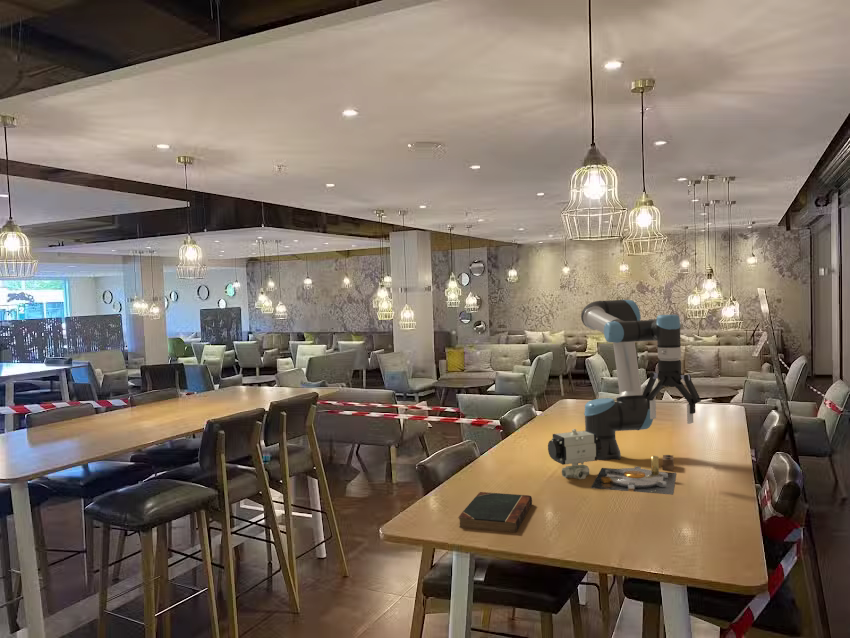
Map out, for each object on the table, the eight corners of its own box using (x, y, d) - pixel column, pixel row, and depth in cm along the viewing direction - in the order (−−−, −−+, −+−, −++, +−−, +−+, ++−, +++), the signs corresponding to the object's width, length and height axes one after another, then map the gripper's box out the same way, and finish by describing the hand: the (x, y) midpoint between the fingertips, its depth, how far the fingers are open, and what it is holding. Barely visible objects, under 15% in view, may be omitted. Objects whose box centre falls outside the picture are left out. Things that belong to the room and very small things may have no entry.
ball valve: (559, 484, 224) (557, 434, 223) (548, 478, 232) (546, 429, 231) (605, 478, 228) (603, 429, 228) (592, 472, 237) (591, 425, 236)
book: (479, 502, 210) (457, 529, 187) (479, 491, 210) (457, 517, 187) (532, 506, 204) (516, 534, 181) (532, 495, 204) (516, 521, 181)
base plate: (590, 490, 215) (590, 487, 215) (601, 470, 239) (601, 467, 239) (673, 497, 205) (673, 494, 205) (676, 475, 229) (676, 472, 229)
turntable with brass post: (598, 486, 216) (597, 464, 215) (608, 468, 237) (607, 448, 237) (665, 492, 207) (664, 469, 207) (668, 472, 229) (668, 452, 228)
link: (662, 473, 233) (662, 458, 233) (663, 468, 240) (663, 454, 239) (673, 473, 232) (672, 459, 232) (673, 468, 238) (673, 454, 238)
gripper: (631, 358, 227) (632, 418, 228) (699, 362, 208) (701, 426, 209) (642, 357, 232) (644, 415, 233) (710, 359, 213) (712, 423, 214)
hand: (671, 420), depth 221 cm, fingers open, 13 cm apart
